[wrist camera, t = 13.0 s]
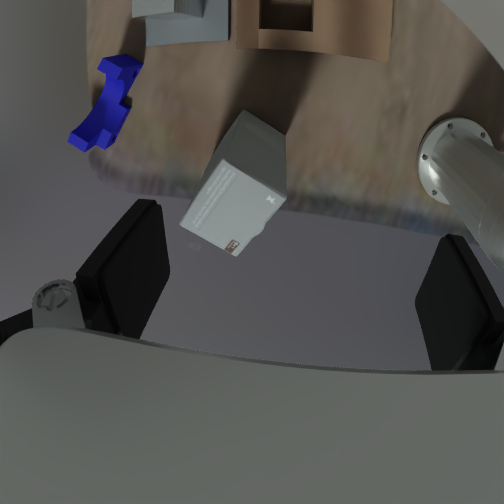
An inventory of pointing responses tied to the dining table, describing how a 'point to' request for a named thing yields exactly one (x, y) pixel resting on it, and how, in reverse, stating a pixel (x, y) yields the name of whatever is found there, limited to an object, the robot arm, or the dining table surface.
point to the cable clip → (108, 104)
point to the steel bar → (167, 9)
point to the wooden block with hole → (324, 29)
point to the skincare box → (240, 185)
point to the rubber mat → (192, 26)
